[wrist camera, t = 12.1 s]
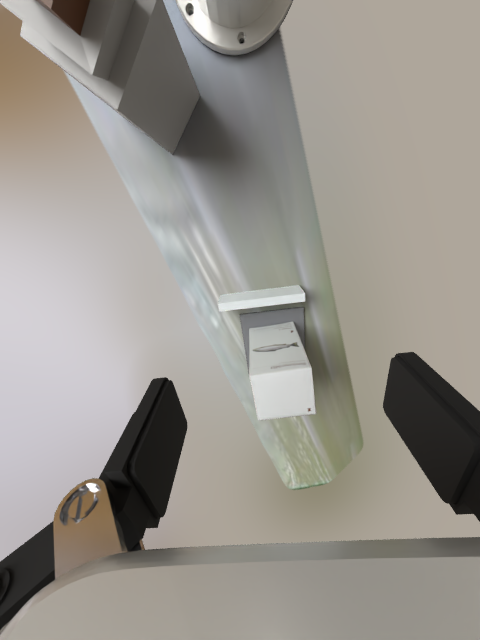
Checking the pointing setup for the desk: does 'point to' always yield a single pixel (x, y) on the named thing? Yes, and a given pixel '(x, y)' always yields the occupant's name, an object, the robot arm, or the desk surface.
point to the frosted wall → (261, 298)
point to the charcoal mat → (272, 323)
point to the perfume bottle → (118, 57)
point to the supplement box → (280, 373)
